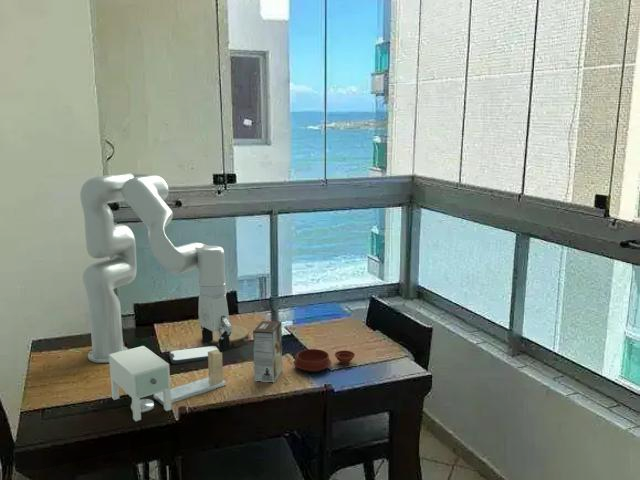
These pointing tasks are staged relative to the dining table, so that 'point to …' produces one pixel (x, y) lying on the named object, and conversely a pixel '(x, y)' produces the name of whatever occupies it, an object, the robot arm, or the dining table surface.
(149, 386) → the low cabinet
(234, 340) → the tan round flat disc
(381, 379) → the dining table surface
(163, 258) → the robot arm
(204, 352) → the phone case
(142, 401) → the steel disc
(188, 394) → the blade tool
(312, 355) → the pottery
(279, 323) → the coffee box
